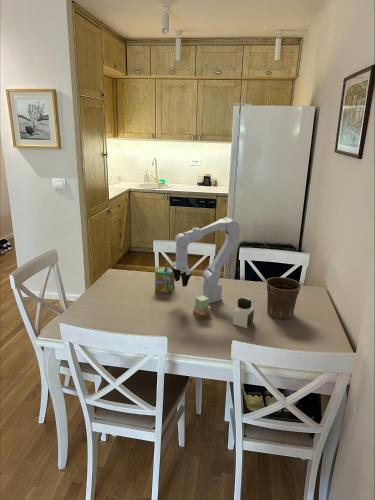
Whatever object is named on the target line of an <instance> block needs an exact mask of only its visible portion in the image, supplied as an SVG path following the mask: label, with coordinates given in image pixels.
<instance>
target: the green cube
mask: <svg viewBox="0 0 375 500" xmlns="http://www.w3.org/2000/svg"><path fill="white" fill-rule="evenodd" d="M194 303H195V304H194V305H195V306H196V307H197V308H199V309H200V310H202V309H205V308H209V306H210V303H209V299H208V298H207V297H205V296H204V295H203V294H202V295H200V296H196V297H195V302H194Z"/></svg>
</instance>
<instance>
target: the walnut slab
mask: <svg viewBox="0 0 375 500" xmlns="http://www.w3.org/2000/svg"><path fill="white" fill-rule="evenodd" d="M192 314H193V315H192V316H195V318H197V319H198V320H200V321H201V320H204V319H208V318H210V317H211V312H209V313H207V314H204V315H201V314H199V313H197V312H195V311H194V309H193V310H192Z"/></svg>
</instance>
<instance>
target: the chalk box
mask: <svg viewBox="0 0 375 500" xmlns="http://www.w3.org/2000/svg"><path fill="white" fill-rule="evenodd" d="M168 265H169V263H167V264H166V265H165V266H159V267H158V268H157V269H156V271H155V274H154V275H155V276H154V282H155V283H154V284H155V285H154V292H155V291H157V292H158V293H164V292H165V294H172V292H173V290H174V289H175V282H176V281H175V277H174V274H173V271H172V269H171V268H172V267H168ZM157 292H156V293H157Z"/></svg>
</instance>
